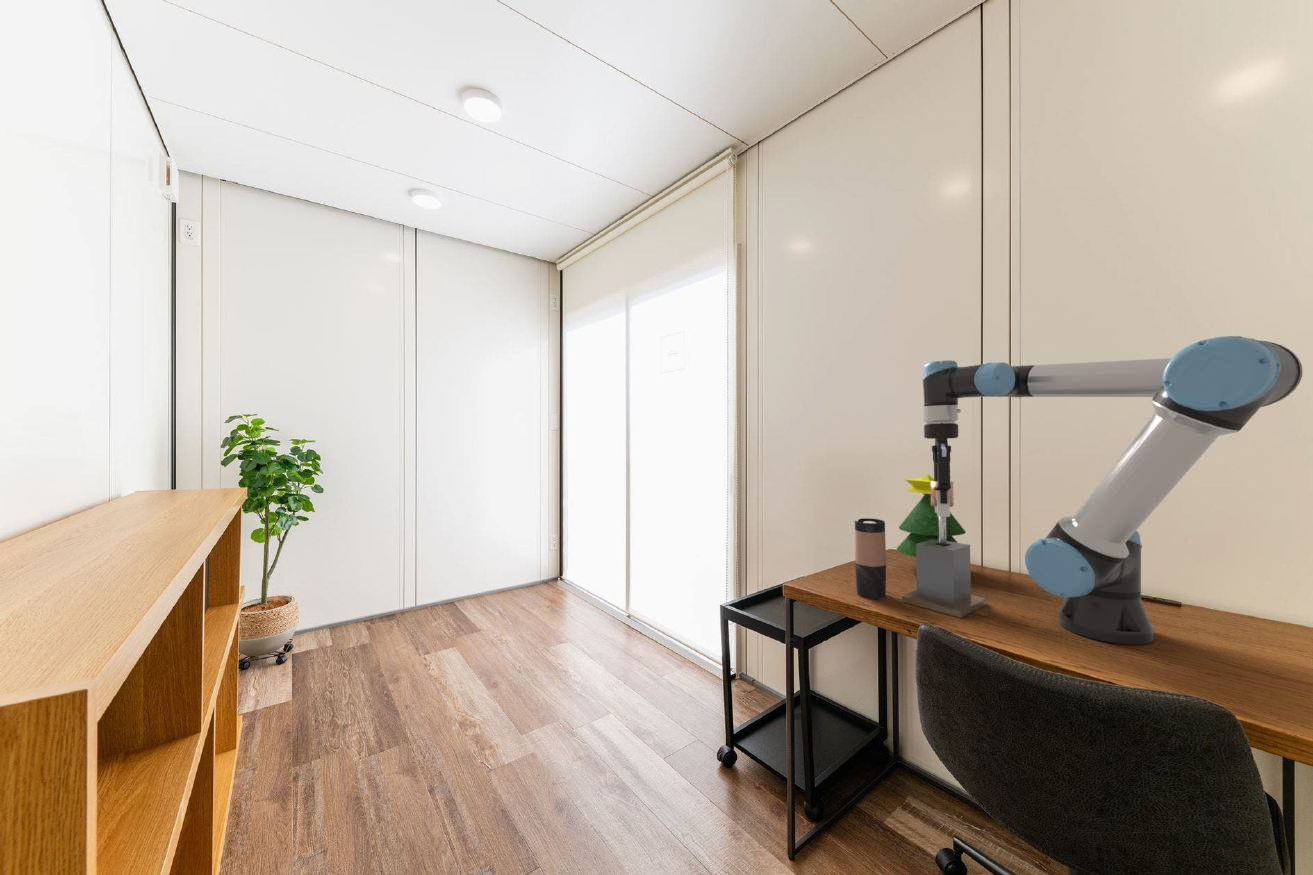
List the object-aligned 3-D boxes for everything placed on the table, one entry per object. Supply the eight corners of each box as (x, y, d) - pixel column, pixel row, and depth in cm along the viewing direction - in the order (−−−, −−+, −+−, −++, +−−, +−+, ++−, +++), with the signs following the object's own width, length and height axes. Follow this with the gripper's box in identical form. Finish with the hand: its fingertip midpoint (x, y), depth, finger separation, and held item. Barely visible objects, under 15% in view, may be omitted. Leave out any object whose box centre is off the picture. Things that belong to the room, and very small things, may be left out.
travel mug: (891, 599, 129) (890, 523, 129) (862, 599, 130) (860, 523, 129) (879, 589, 137) (877, 517, 137) (851, 590, 137) (850, 518, 137)
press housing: (986, 604, 124) (985, 544, 124) (960, 617, 116) (959, 554, 116) (929, 590, 135) (928, 535, 135) (902, 601, 127) (901, 543, 127)
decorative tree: (942, 585, 139) (940, 479, 139) (883, 568, 156) (881, 474, 156) (982, 574, 148) (980, 474, 147) (922, 559, 165) (921, 470, 165)
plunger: (958, 564, 125) (956, 481, 124) (948, 567, 122) (947, 483, 122) (937, 560, 129) (936, 480, 128) (928, 563, 126) (926, 481, 126)
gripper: (963, 422, 115) (964, 521, 115) (953, 422, 131) (954, 509, 132) (926, 423, 118) (928, 519, 119) (921, 423, 134) (922, 508, 135)
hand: (942, 514), depth 125 cm, fingers closed on plunger, 5 cm apart
